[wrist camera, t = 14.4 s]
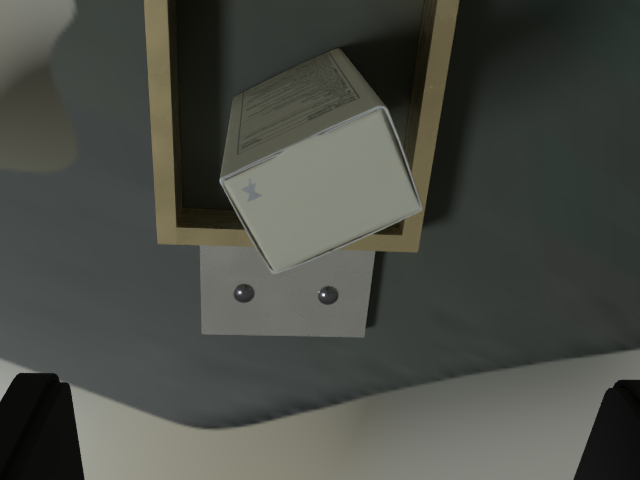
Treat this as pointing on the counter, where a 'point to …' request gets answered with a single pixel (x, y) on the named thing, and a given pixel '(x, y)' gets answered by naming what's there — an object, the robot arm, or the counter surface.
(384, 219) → the skincare box
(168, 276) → the counter surface
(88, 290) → the counter surface
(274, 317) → the wooden flat frame
